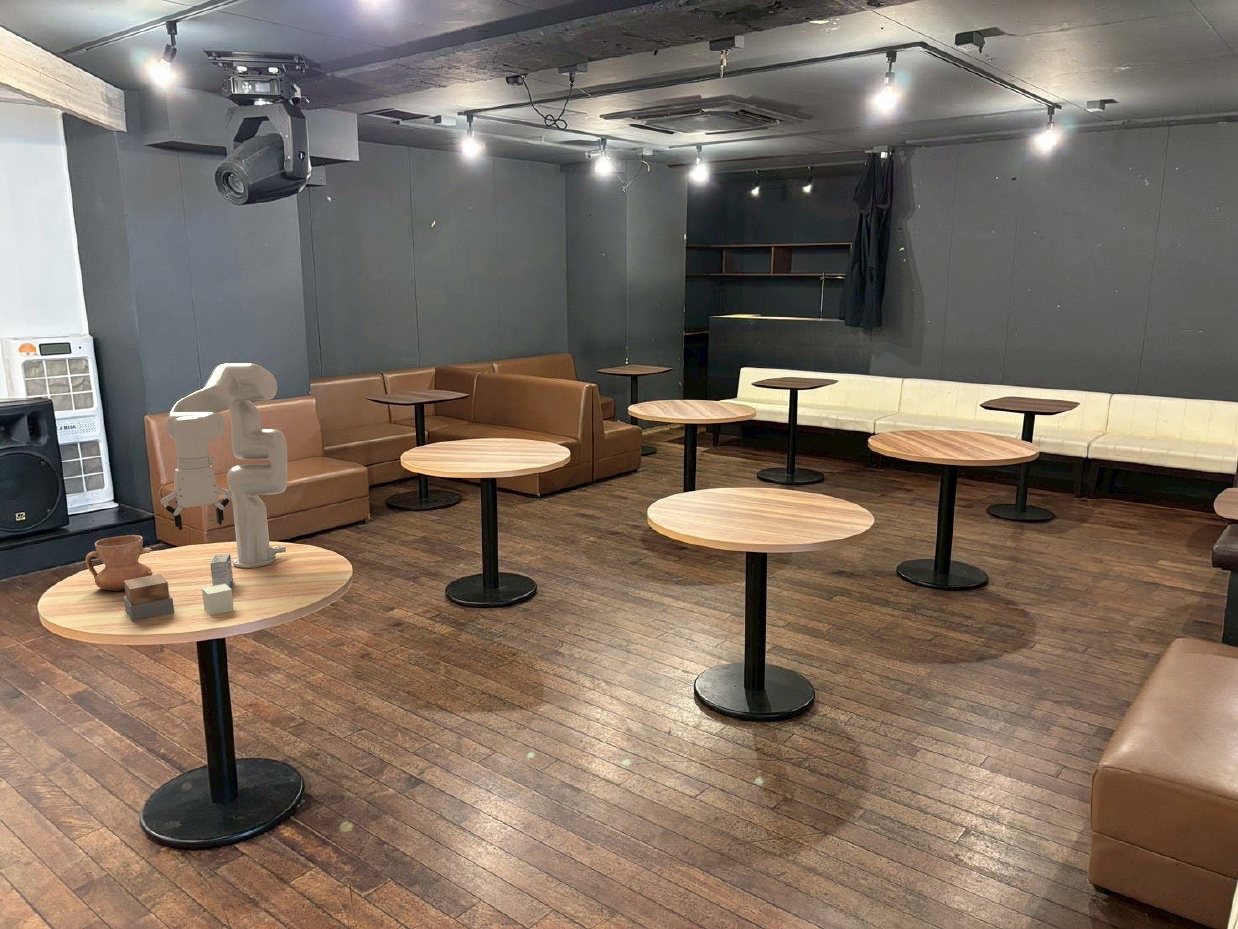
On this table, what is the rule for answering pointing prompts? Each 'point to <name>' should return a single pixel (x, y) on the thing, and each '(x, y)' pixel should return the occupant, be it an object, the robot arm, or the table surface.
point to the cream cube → (217, 599)
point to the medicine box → (222, 570)
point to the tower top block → (146, 589)
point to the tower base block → (149, 609)
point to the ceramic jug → (118, 561)
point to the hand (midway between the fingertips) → (200, 526)
